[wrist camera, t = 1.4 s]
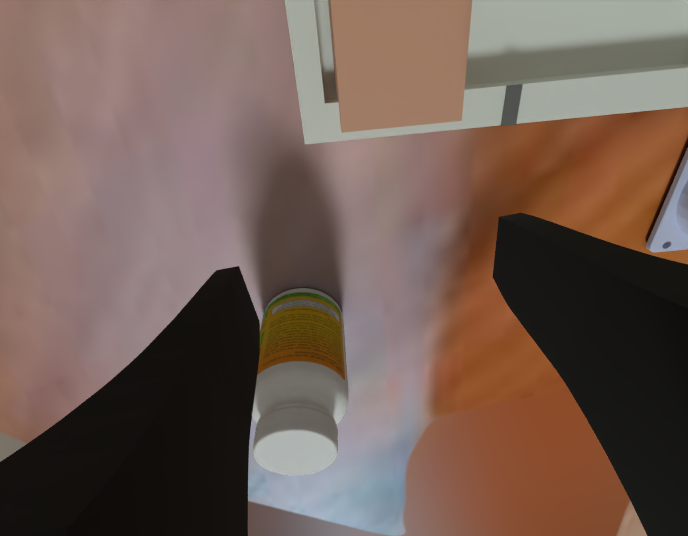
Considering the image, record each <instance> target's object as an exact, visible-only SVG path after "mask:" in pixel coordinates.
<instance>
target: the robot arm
mask: <svg viewBox="0 0 688 536" xmlns="http://www.w3.org/2000/svg"><path fill="white" fill-rule="evenodd" d="M664 243H665V244H664ZM646 248H647V249H648V250H650V251H651V252H665V251H675V250H685V249H688V148H687V150H686V152H685V155H684V157H683V159H682V162H681V164H680V167H679V169H678V171H677V174H676V176H675V178H674V181H673V183H672V185H671V188H670V190H669V192H668V195H667V197H666V199H665V202H664V204H663V206H662V209H661V211H660V214H659V216H658V218H657V221H656V223H655V225H654V228H653V230H652V232H651V235H650V237H649V239H648V242H647V244H646ZM493 278H494V280H495V282H496V284H497V286H498V288H499V290H500V292H501V294H502V296H503V297H504V299H505V301H506V303H507V304H508V306H509V307H510V309H511V310H512V312H513V313H514V314H515V316H516V317H517V318H518V320H519V321H520V322H521V324H522V325H523V327H524V328H525V329H526V331H527V332H528V333H529V334H530V336H531V337H532V338H533V340H534V341H535V342H536V344H537V345H538V346H539V348H540V349H541V350H542V352H543V353H544V354H545V356H546V357H547V358H548V360H549V361H550V362H551V364H552V365H553V366H554V368H555V369H556V370H557V372H558V373H559V375H560V376H561V378H562V379H563V380H564V382H565V383H566V385H567V387H568V388H569V390H570V392H571V393H572V395H573V397H574V398H575V400H576V402H577V403H578V405H579V407H580V408H581V410H582V412H583V413H584V415H585V417H586V418H587V420H588V422H589V424H590V425H591V427H592V429H593V431H594V433H595V434H596V436H597V438H598V440H599V442H600V443H601V445H602V447H603V449H604V450H605V452H606V454H607V456H608V458H609V460H610V462H611V464H612V465H613V467H614V469H615V471H616V473H617V475H618V477H619V479H620V481H621V483H622V485H623V486H624V489H625V490H626V492H627V494H628V496H629V498H630V500H631V502H632V504H633V506H634V509H635V511H636V513H637V515H638V517H639V519H640V521H641V523H642V525H643V527H644V529H645V531H646V534H647V536H688V265H687V264H683V263H679V262H675V261H670V260H667V259H663V258H659V257H656V256H652V255H648V254H645V253H642V252H639V251H635V250H632V249H629V248H625V247H622V246H619V245H616V244H613V243H610V242H607V241H604V240H601V239H598V238H595V237H592V236H589V235H586V234H584V233H581V232H578V231H575V230H572V229H569V228H567V227H564V226H561V225H558V224H555V223H553V222H550V221H547V220H544V219H541V218H538V217H535V216H531V215H527V214H523V213H518V214H512V215H507V216H502V217H499V222H498V232H497V241H496V251H495V260H494V270H493ZM259 356H260V324H259V319H258V317H257V314H256V311H255V309H254V306H253V303H252V300H251V298H250V295H249V292H248V290H247V287H246V284H245V282H244V279H243V276H242V274H241V271H240V268H239V266H237V267H232V268H227V269H221V270H216V271H215V272H214V274H213V275H212V276H211V277H210V278H209V279H208V280H207V281H206V282H205V284H204V285H203V286H202V287H201V288H200V289H199V291H198V292H197V293H196V294H195V295H194V296H193V298H192V299H191V300H190V301H189V302H188V303H187V305H186V306H185V307H184V308H183V309H182V310H181V311H180V313H179V314H178V315H177V316H176V317H175V318H174V319H173V320H172V322H171V323H170V324H169V325H168V326H167V327H166V328H165V329H164V330H163V331H162V332H161V333H160V334H159V335H158V336H157V337H156V338H155V339H154V340H153V341H152V342H151V343H150V345H149V346H148V347H147V348H146V349H145V350H144V351H143V352H142V353H141V354H139V355H138V356H137V357H136V358H135V359H134V360H133V361H132V362H131V363H130V364H129V365H128V366H127V367H125V368H124V369H123V370H122V371H121V372H120V373H119V374H117V375H116V376H115V377H114V378H113V379H112V380H111V381H110V382H108V383H107V384H106V385H105V386H104V387H102V388H101V389H100V390H99V391H97V392H96V393H95V394H94V395H92V396H91V397H90V398H88V399H87V400H86V401H85V402H83V403H82V404H81V405H79V406H78V407H77V408H76V409H74V410H73V411H72V412H70V413H69V414H68V415H67V416H65V417H64V418H63V419H61V420H60V421H59V422H57V423H56V424H55V425H53V426H52V427H51V428H49V429H48V430H46V431H45V432H44V433H42V434H41V435H39V436H38V437H36V438H35V439H34V440H32V441H31V442H29V443H28V444H26V445H25V446H24V447H22V448H21V449H19V450H18V451H16V452H15V453H13V454H12V455H10V456H9V457H7V458H6V459H4V460H3V461H1V462H0V536H248V529H247V528H248V527H247V526H248V525H247V524H248V522H247V521H248V457H249V438H250V427H251V419H252V412H253V404H254V396H255V389H256V381H257V373H258V365H259Z"/></svg>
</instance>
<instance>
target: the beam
mask: <svg viewBox="0 0 688 536" xmlns="http://www.w3.org/2000/svg"><path fill="white" fill-rule="evenodd" d="M285 5H286V12H287V19H288V26H289V34H290V41H291V48H292V55H293V62H294V69H295V77H296V84H297V91H298V98H299V105H300V112H301V120H302V127H303V134H304V141H305V144H315V143H325V142H335V141H345V140H355V139H365V138H375V137H386V136H396V135H406V134H416V133H426V132H436V131H446V130H457V129H467V128H477V127H487V126H497V125H501V126H504V125H514V124H517V123H528V122H538V121H548V120H558V119H568V118H578V117H588V116H599V115H609V114H619V113H629V112H639V111H649V110H659V109H670V108H680V107H688V0H472V11H471V22H470V33H469V45H468V56H467V67H466V79H465V90H464V101H463V113H462V121H455V122H445V123H435V124H425V125H415V126H404V127H394V128H384V129H374V130H364V131H354V132H344V133H342V131H341V124H340V112H339V102H338V97H337V92H336V85H335V74H334V62H333V51H332V39H331V28H330V16H329V5H328V0H285Z"/></svg>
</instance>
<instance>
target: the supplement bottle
mask: <svg viewBox="0 0 688 536" xmlns="http://www.w3.org/2000/svg"><path fill="white" fill-rule="evenodd" d="M347 406H348V380H347V366H346V352H345V337H344V324H343V315H342V312H341V309H340V307H339V306H338V304H337V303H336V302H335V301H334V300H333V299H332V298H331V297H330V296H328V295H327V294H325V293H323V292H321V291H318V290H314V289H309V288H296V289H291V290H288V291H285V292H282V293H281V294H279V295H277V296H276V297H274V298H273V299H272V300H271V301H270V302H269V304H268V305H267V307H266V309H265V311H264V315H263V319H262V325H261V330H260V356H259V365H258V373H257V381H256V389H255V396H254V404H253V412H252V418H253V419H254V420H255V422H256V423H257V427H256V432H255V438H254V446H253V454H254V457H255V459H256V461H257V462H258V463H259V464H260V465H261V466H262V467H264V468H266V469H268V470H270V471H272V472H275V473H279V474H284V475H306V474H311V473H315V472H318V471H321V470H323V469H325V468H326V467H328V466H329V465H330V464H331V463H333V461H334V460H335V458H336V456H337V452H338V440H337V436H338V430H337V426H336V425H337V424H338V423H339V422H340V420H341V419H342V418H343V416H344V414H345V412H346V410H347Z"/></svg>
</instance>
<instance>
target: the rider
mask: <svg viewBox="0 0 688 536" xmlns="http://www.w3.org/2000/svg"><path fill="white" fill-rule="evenodd" d="M328 5H329V16H330V28H331V39H332V51H333V62H334V74H335V85H336V92H337V97H338V102H339V112H340V124H341V131H342V133H344V132H354V131H364V130H374V129H384V128H394V127H404V126H415V125H425V124H435V123H445V122H455V121H462V113H463V101H464V90H465V79H466V67H467V56H468V45H469V33H470V22H471V11H472V0H328Z"/></svg>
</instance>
